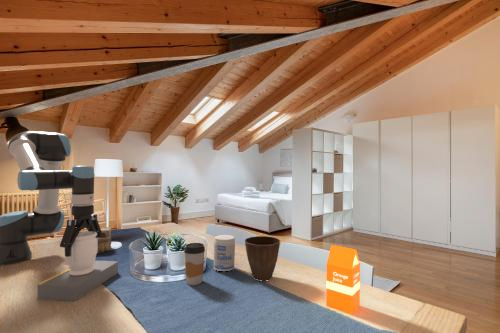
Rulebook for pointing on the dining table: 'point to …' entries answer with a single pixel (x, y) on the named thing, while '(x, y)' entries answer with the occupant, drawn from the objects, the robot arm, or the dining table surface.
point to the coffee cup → (194, 263)
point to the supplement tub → (224, 252)
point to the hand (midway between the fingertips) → (82, 258)
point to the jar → (84, 253)
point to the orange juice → (343, 279)
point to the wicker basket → (104, 240)
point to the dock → (76, 282)
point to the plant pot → (262, 256)
